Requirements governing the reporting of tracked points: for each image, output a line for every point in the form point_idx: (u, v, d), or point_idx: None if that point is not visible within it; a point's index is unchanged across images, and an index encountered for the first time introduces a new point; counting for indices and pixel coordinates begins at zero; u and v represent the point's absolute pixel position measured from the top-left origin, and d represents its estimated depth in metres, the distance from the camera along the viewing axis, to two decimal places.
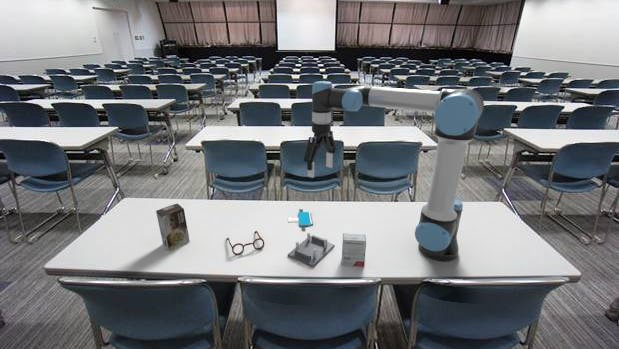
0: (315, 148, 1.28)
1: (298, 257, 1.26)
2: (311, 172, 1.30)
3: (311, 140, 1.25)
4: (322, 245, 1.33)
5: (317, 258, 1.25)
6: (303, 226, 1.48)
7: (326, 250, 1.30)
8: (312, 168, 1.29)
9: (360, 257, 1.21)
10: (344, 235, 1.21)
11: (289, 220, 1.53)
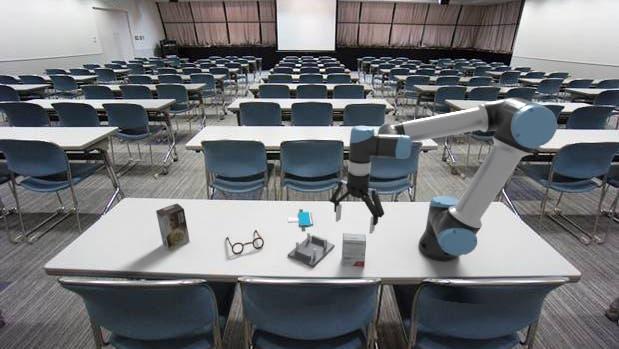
0: (344, 194, 1.16)
1: (298, 257, 1.26)
2: None
3: None
4: (322, 245, 1.33)
5: (317, 258, 1.25)
6: (303, 226, 1.48)
7: (326, 250, 1.30)
8: (336, 211, 1.20)
9: (360, 257, 1.21)
10: (344, 235, 1.21)
11: (289, 220, 1.53)
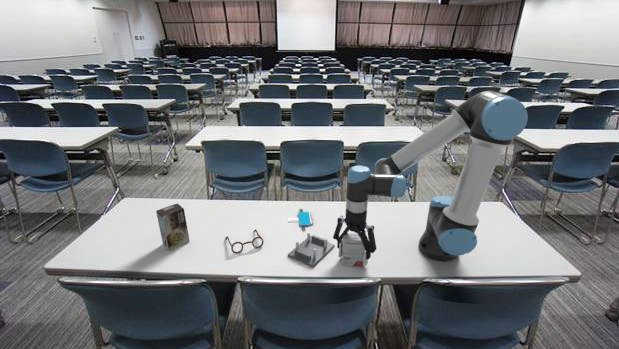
0: (344, 230, 1.21)
1: (298, 257, 1.26)
2: None
3: None
4: (322, 245, 1.33)
5: (317, 258, 1.25)
6: (303, 226, 1.48)
7: (326, 250, 1.30)
8: (339, 247, 1.25)
9: (360, 257, 1.21)
10: (344, 235, 1.21)
11: (289, 220, 1.53)
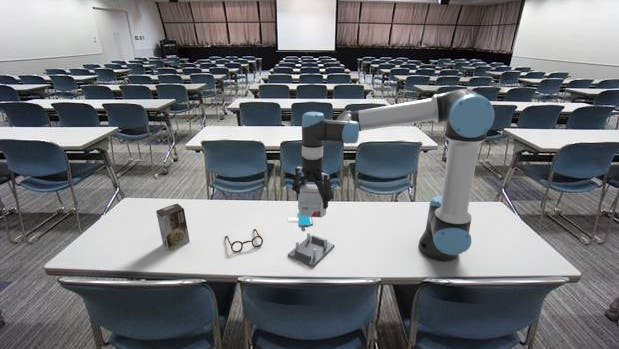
0: None
1: (298, 257, 1.26)
2: None
3: None
4: (322, 245, 1.33)
5: (317, 258, 1.25)
6: (303, 226, 1.48)
7: (326, 250, 1.30)
8: None
9: (318, 207, 1.20)
10: (302, 185, 1.21)
11: (289, 220, 1.53)
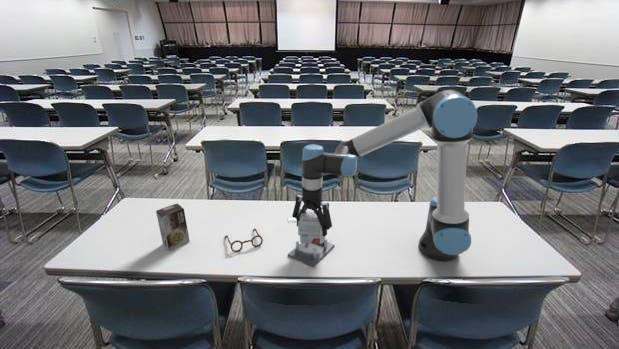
0: None
1: (298, 257, 1.26)
2: None
3: None
4: (322, 245, 1.33)
5: (317, 258, 1.25)
6: None
7: (326, 250, 1.30)
8: None
9: (317, 234, 1.25)
10: (302, 213, 1.26)
11: (289, 220, 1.53)
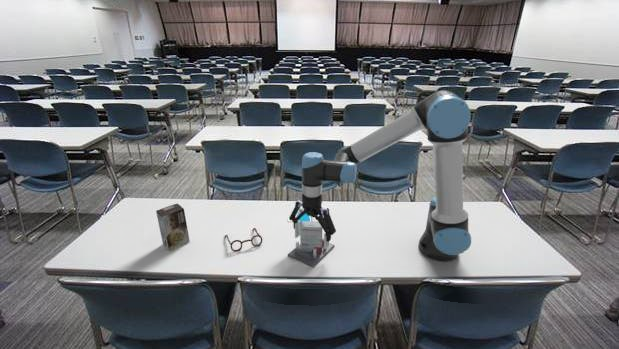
0: (300, 213, 1.27)
1: (298, 257, 1.26)
2: None
3: None
4: (322, 245, 1.33)
5: (317, 258, 1.25)
6: None
7: (326, 250, 1.30)
8: (295, 228, 1.31)
9: (317, 243, 1.27)
10: (302, 223, 1.27)
11: (289, 220, 1.53)
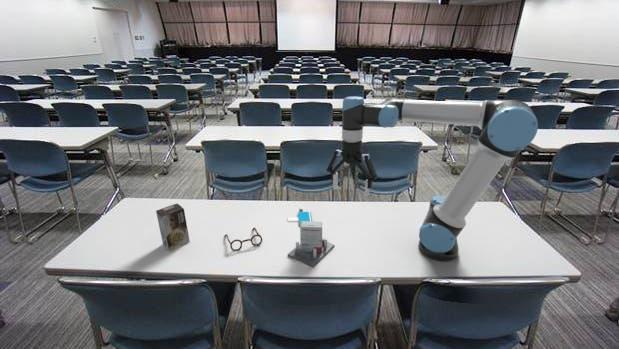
0: None
1: (298, 257, 1.26)
2: None
3: None
4: (322, 245, 1.33)
5: (317, 258, 1.25)
6: None
7: (326, 250, 1.30)
8: (333, 180, 1.29)
9: (317, 243, 1.27)
10: (302, 223, 1.27)
11: (289, 220, 1.53)
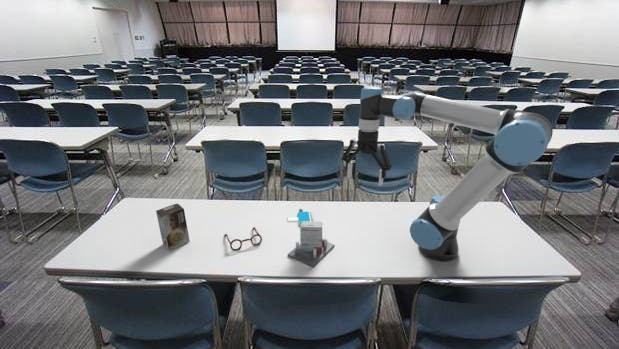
0: None
1: (298, 257, 1.26)
2: None
3: None
4: (322, 245, 1.33)
5: (317, 258, 1.25)
6: None
7: (326, 250, 1.30)
8: (347, 168, 1.31)
9: (317, 243, 1.27)
10: (302, 223, 1.27)
11: (289, 220, 1.53)
